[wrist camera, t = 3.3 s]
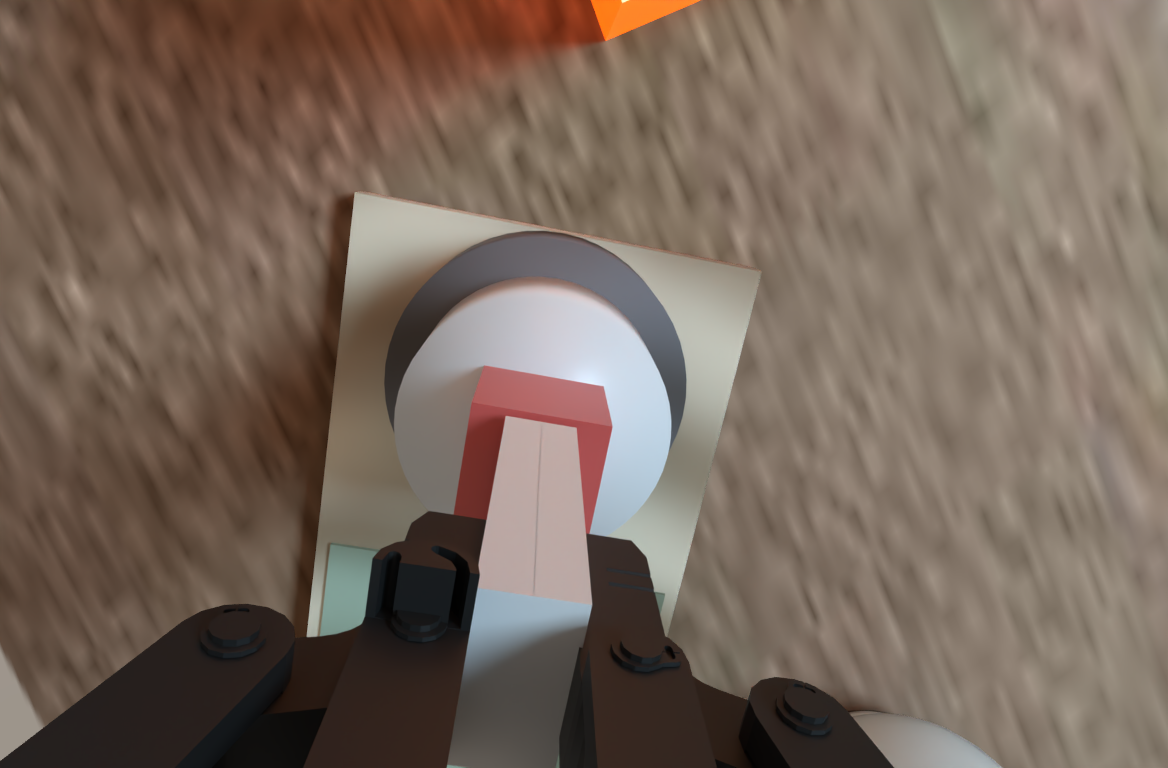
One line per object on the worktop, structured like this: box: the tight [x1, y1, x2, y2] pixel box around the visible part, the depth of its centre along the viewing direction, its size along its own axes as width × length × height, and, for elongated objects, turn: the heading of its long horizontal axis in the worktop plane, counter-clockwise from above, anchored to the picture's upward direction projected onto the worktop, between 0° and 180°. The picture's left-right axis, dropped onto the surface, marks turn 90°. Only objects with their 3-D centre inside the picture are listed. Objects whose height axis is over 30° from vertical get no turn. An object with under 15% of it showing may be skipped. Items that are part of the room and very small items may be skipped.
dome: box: [394, 277, 671, 536], centre depth 19 cm, size 7×7×6 cm
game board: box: [307, 191, 762, 768], centre depth 26 cm, size 25×13×4 cm, turn 169°
